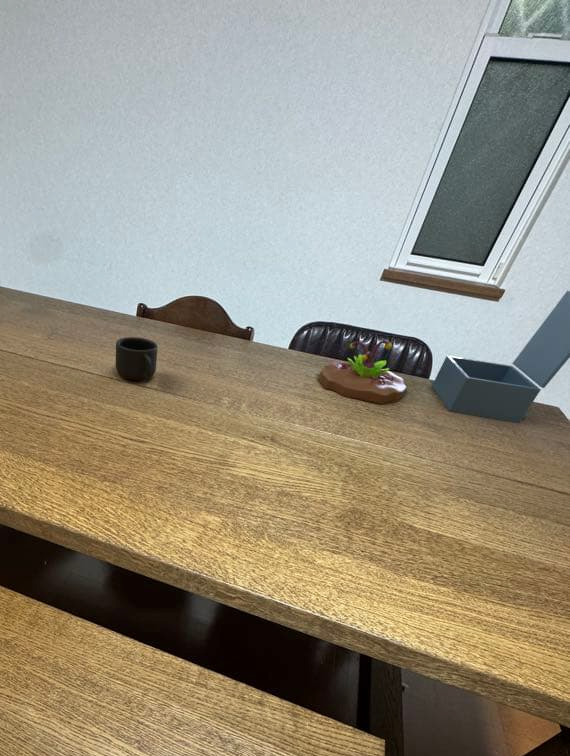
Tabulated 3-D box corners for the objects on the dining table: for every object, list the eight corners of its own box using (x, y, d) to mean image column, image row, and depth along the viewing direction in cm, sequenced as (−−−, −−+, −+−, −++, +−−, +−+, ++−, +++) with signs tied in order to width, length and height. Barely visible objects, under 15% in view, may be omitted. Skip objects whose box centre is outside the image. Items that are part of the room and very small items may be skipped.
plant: (394, 411, 101) (417, 360, 93) (310, 386, 107) (326, 337, 100) (408, 386, 114) (429, 340, 107) (333, 365, 121) (348, 320, 114)
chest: (449, 411, 104) (467, 377, 99) (431, 386, 116) (446, 355, 111) (519, 422, 103) (541, 389, 98) (494, 396, 115) (512, 365, 110)
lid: (606, 307, 87) (631, 314, 87) (567, 290, 99) (588, 297, 99) (540, 387, 97) (562, 394, 98) (512, 363, 109) (531, 369, 109)
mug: (109, 370, 103) (109, 337, 98) (145, 367, 106) (147, 336, 102) (129, 391, 95) (130, 357, 90) (167, 387, 98) (170, 354, 94)
